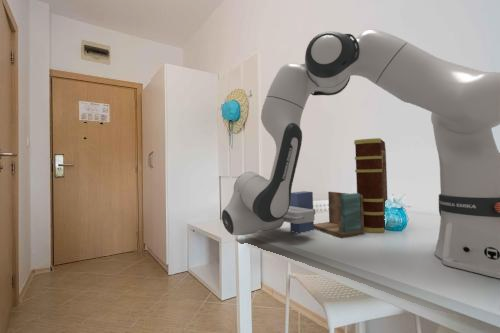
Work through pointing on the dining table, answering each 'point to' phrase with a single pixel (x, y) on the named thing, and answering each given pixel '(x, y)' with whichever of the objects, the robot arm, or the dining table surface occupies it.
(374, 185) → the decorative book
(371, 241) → the dining table surface
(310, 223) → the navy book
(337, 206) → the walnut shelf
